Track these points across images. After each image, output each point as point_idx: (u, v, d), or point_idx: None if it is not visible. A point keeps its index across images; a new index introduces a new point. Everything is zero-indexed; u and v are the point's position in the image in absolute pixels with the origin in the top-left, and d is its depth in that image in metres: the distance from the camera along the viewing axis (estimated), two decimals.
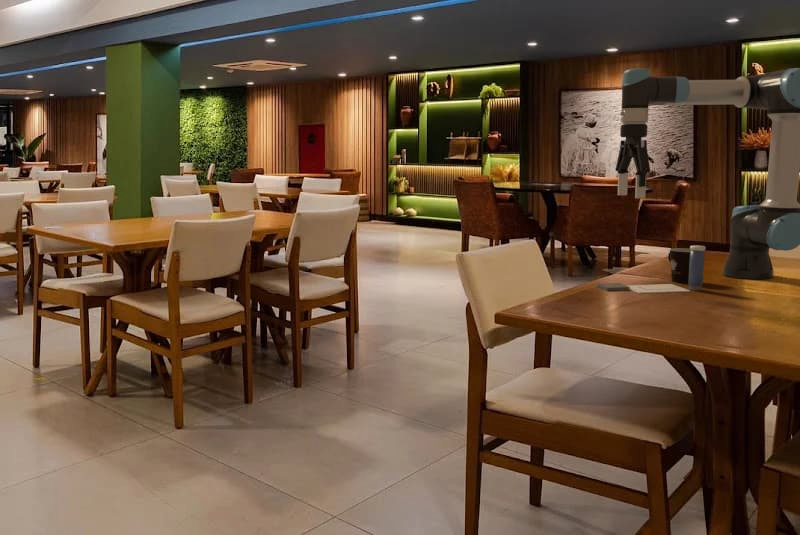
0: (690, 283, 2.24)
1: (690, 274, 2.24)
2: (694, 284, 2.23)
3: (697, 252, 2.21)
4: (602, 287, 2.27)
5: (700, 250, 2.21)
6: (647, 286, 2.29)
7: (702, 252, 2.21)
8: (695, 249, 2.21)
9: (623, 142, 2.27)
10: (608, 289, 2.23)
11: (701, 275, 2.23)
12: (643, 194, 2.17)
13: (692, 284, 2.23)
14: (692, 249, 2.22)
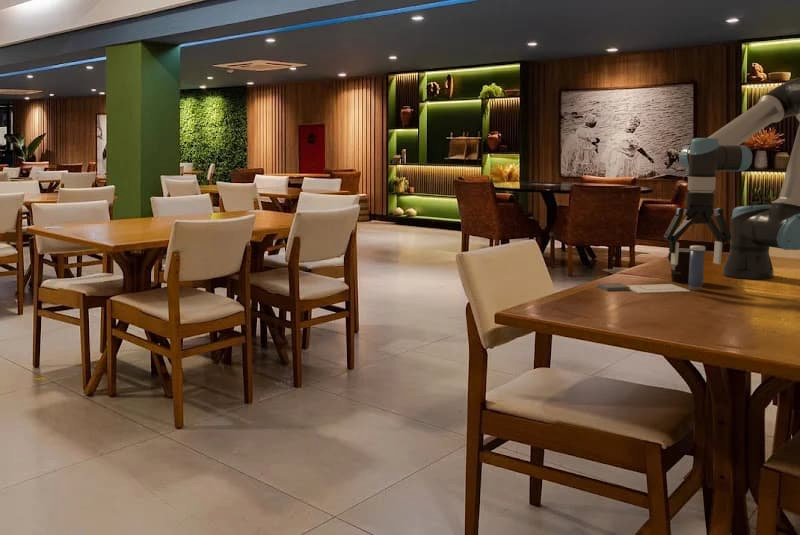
0: (690, 283, 2.24)
1: (690, 274, 2.24)
2: (694, 284, 2.23)
3: (697, 252, 2.21)
4: (602, 287, 2.27)
5: (700, 250, 2.21)
6: (647, 286, 2.29)
7: (702, 252, 2.21)
8: (695, 249, 2.21)
9: None
10: (608, 289, 2.23)
11: (701, 275, 2.23)
12: (674, 260, 2.22)
13: (692, 284, 2.23)
14: (692, 249, 2.22)
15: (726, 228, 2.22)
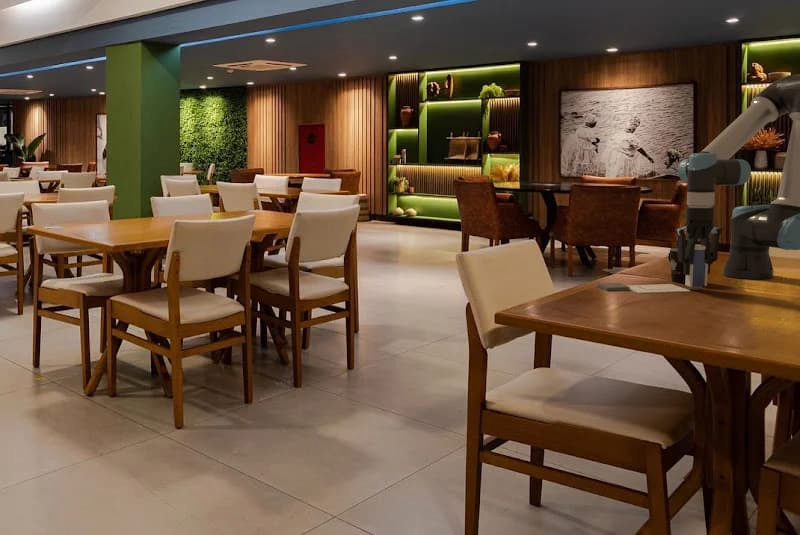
0: None
1: None
2: (695, 283, 2.23)
3: (697, 251, 2.21)
4: (602, 287, 2.27)
5: (700, 249, 2.21)
6: (647, 286, 2.29)
7: (702, 251, 2.21)
8: (695, 248, 2.21)
9: None
10: (608, 289, 2.23)
11: (701, 274, 2.23)
12: (689, 282, 2.24)
13: (693, 283, 2.23)
14: None
15: (716, 249, 2.23)
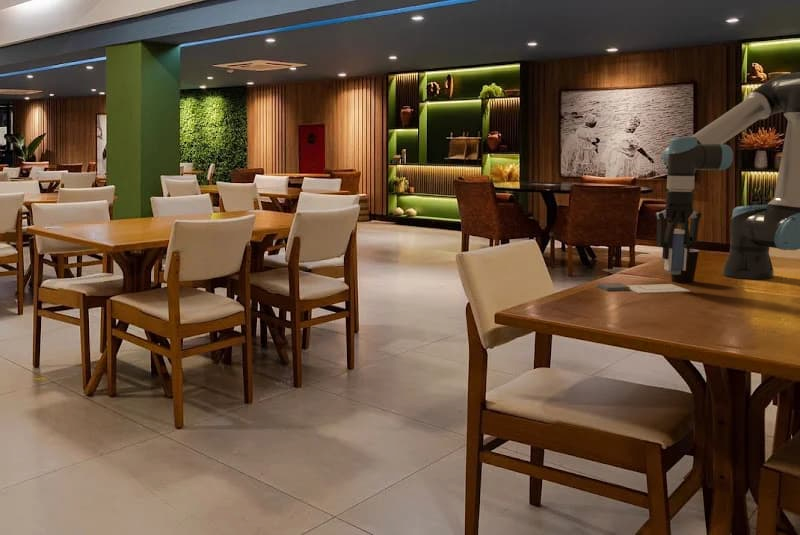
0: None
1: None
2: (673, 268, 2.22)
3: (676, 235, 2.21)
4: (602, 287, 2.27)
5: (679, 233, 2.20)
6: (647, 286, 2.29)
7: (681, 235, 2.21)
8: (675, 232, 2.21)
9: None
10: (608, 289, 2.23)
11: (680, 259, 2.22)
12: (667, 266, 2.23)
13: (671, 268, 2.23)
14: None
15: (695, 233, 2.22)
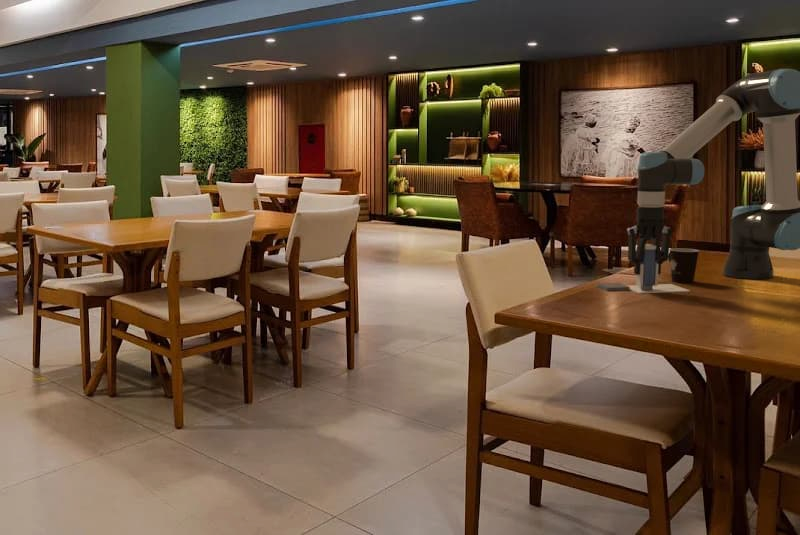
0: None
1: None
2: (645, 283, 2.22)
3: (647, 251, 2.20)
4: (602, 287, 2.27)
5: (651, 249, 2.20)
6: None
7: (653, 251, 2.20)
8: (646, 248, 2.20)
9: None
10: (608, 289, 2.23)
11: (652, 274, 2.21)
12: (639, 282, 2.22)
13: (643, 283, 2.22)
14: None
15: (667, 248, 2.21)
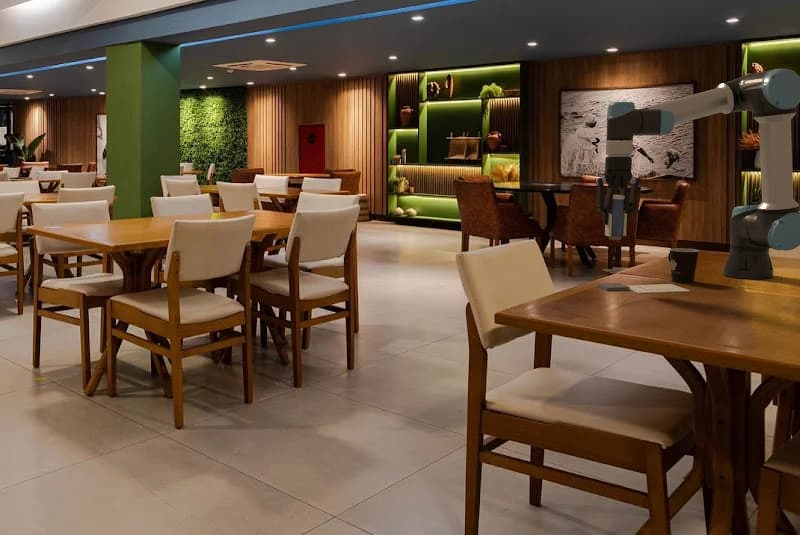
0: None
1: None
2: (613, 233, 2.23)
3: (615, 200, 2.21)
4: (602, 287, 2.27)
5: (619, 199, 2.21)
6: (647, 286, 2.29)
7: (621, 201, 2.21)
8: (614, 198, 2.21)
9: None
10: (608, 289, 2.23)
11: (620, 224, 2.23)
12: (608, 232, 2.24)
13: (611, 233, 2.23)
14: None
15: (635, 199, 2.23)
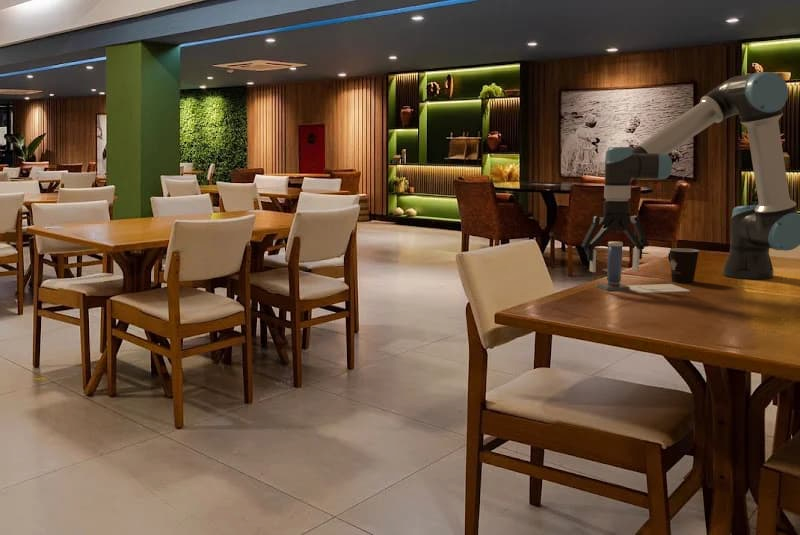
0: (608, 279, 2.26)
1: (608, 270, 2.26)
2: (612, 279, 2.25)
3: (614, 247, 2.24)
4: (602, 287, 2.27)
5: (617, 246, 2.23)
6: (647, 286, 2.29)
7: (619, 248, 2.24)
8: (612, 245, 2.24)
9: (633, 217, 2.26)
10: (608, 289, 2.23)
11: (619, 271, 2.25)
12: (592, 268, 2.25)
13: (610, 279, 2.26)
14: (609, 245, 2.24)
15: (643, 235, 2.25)
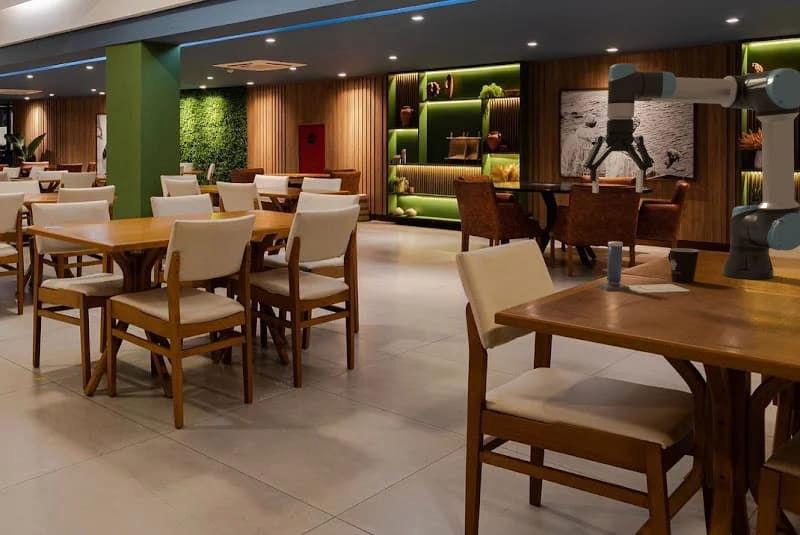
0: (608, 279, 2.26)
1: (608, 270, 2.26)
2: (612, 279, 2.25)
3: (614, 247, 2.24)
4: (602, 287, 2.27)
5: (617, 246, 2.23)
6: (647, 286, 2.29)
7: (619, 248, 2.24)
8: (612, 245, 2.24)
9: None
10: (608, 289, 2.23)
11: (619, 271, 2.25)
12: (595, 189, 2.21)
13: (610, 280, 2.26)
14: (609, 245, 2.24)
15: (647, 156, 2.21)
